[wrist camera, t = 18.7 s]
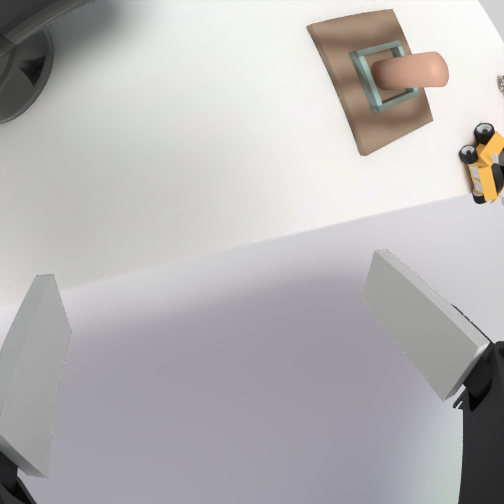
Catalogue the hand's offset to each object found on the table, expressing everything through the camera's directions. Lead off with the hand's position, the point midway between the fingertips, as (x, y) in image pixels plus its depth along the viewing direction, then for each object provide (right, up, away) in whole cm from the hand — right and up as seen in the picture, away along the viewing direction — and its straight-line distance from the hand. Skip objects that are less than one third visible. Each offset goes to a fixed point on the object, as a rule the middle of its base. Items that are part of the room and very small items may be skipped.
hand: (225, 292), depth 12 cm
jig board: (+21, +30, +29) cm, 47 cm away
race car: (+53, +23, +43) cm, 72 cm away
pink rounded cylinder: (+22, +29, +28) cm, 46 cm away
